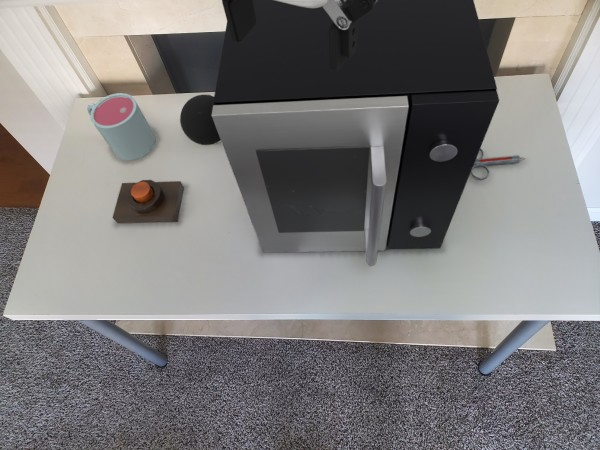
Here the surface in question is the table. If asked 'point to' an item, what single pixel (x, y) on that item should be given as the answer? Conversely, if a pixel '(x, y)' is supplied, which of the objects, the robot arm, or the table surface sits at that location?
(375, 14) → the microwave
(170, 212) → the button block
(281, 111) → the microwave door
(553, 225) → the table surface
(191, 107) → the speaker
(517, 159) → the syringe
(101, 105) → the mug
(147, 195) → the button
